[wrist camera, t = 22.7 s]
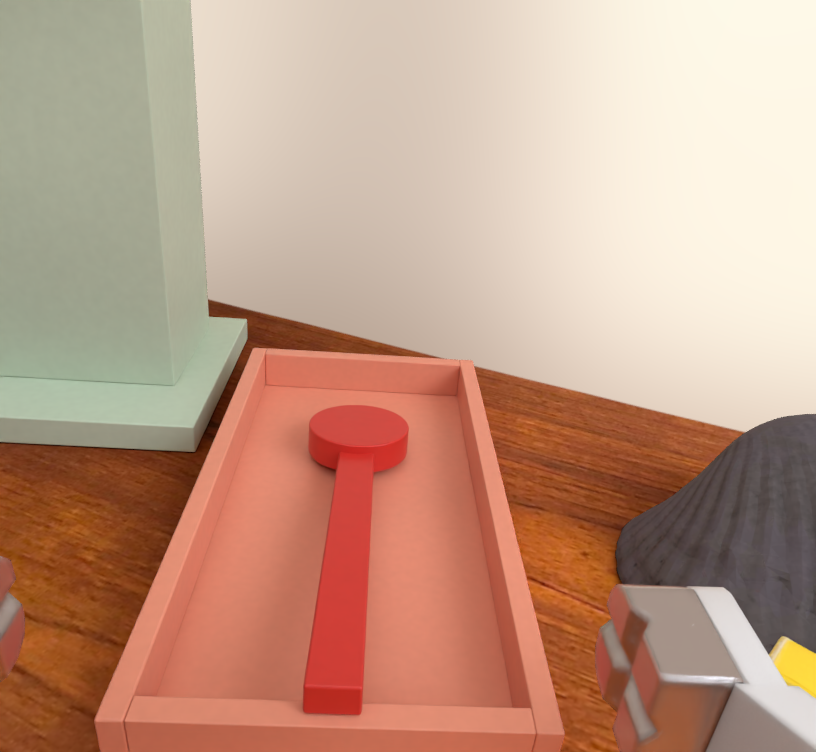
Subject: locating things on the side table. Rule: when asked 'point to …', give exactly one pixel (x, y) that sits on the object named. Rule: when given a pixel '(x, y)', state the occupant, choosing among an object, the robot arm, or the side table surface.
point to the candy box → (795, 664)
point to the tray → (300, 573)
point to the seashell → (741, 531)
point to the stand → (104, 230)
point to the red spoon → (347, 549)
